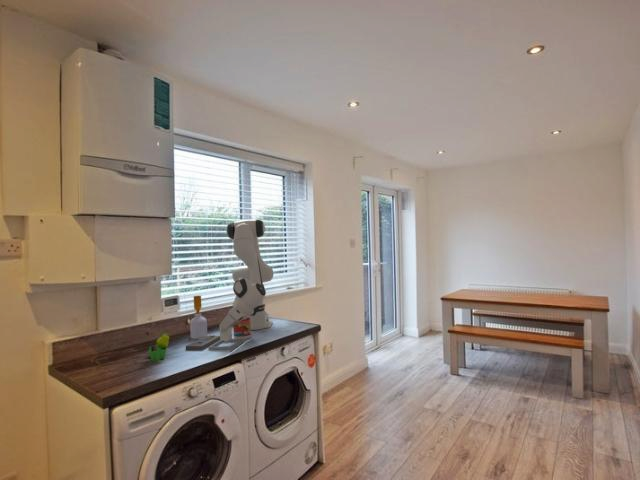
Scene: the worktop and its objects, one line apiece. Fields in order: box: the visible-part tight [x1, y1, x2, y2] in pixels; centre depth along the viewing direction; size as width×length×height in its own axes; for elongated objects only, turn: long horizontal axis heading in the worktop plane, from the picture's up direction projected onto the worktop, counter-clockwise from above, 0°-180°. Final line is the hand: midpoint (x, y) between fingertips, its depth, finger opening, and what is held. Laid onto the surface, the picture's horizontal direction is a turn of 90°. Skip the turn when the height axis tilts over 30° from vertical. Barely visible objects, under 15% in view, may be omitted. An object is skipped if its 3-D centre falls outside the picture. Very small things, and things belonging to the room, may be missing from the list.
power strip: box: [185, 334, 220, 351], centre depth 192 cm, size 20×9×4 cm, turn 169°
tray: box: [207, 338, 244, 353], centre depth 187 cm, size 16×12×2 cm
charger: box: [219, 324, 233, 345], centre depth 187 cm, size 4×4×10 cm
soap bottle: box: [189, 295, 208, 340], centre depth 210 cm, size 9×9×25 cm
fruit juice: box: [232, 294, 252, 341], centre depth 204 cm, size 9×9×28 cm
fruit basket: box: [148, 333, 170, 363], centre depth 175 cm, size 11×9×11 cm
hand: (224, 330), depth 187 cm, fingers open, 5 cm apart
